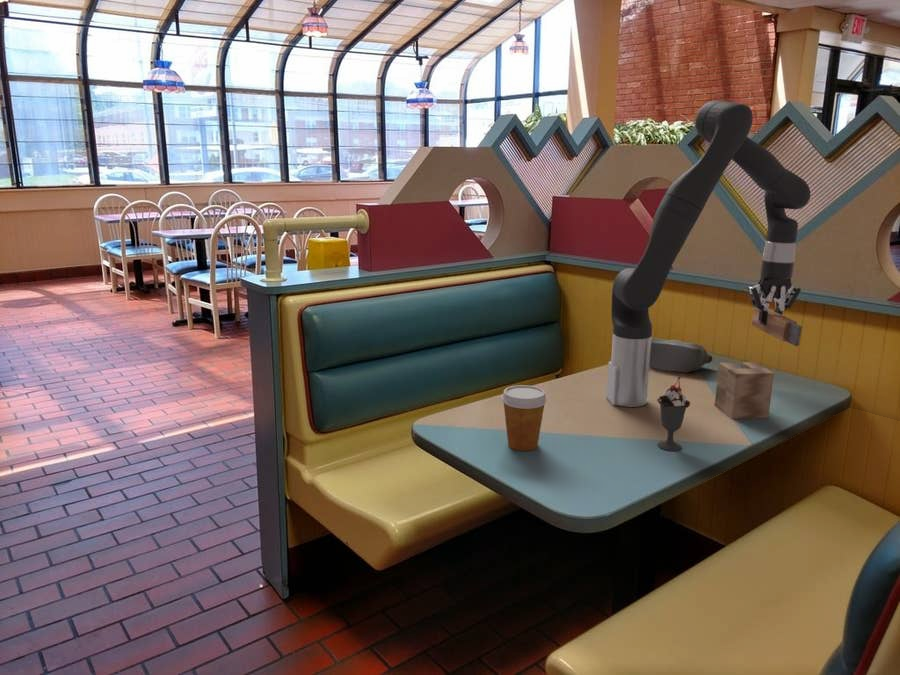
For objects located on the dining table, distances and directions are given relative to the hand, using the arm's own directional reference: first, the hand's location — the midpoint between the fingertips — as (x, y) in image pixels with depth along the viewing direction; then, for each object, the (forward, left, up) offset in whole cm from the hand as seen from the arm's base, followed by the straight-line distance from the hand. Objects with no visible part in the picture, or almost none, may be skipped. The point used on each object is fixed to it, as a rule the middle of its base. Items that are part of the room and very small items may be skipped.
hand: (769, 323), depth 187 cm
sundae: (-41, -39, -17) cm, 59 cm away
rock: (-18, +17, -17) cm, 30 cm away
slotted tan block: (-16, -20, -16) cm, 31 cm away
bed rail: (0, -4, -2) cm, 4 cm away
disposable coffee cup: (-72, -36, -17) cm, 82 cm away
